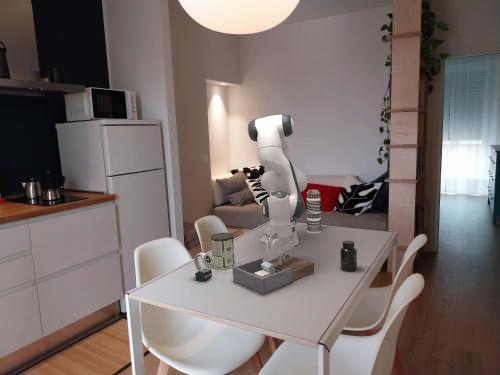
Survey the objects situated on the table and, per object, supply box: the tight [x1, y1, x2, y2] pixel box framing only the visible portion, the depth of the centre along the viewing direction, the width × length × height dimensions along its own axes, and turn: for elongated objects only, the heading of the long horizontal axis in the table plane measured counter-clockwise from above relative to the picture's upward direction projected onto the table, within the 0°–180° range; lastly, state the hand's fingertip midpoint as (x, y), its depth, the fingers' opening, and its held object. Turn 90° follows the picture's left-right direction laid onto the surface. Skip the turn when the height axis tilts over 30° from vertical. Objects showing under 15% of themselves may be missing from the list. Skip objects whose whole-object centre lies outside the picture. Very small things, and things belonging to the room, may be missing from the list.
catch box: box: [232, 257, 294, 296], centre depth 147 cm, size 18×16×6 cm
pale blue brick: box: [261, 261, 276, 275], centre depth 150 cm, size 5×5×2 cm
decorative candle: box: [305, 189, 322, 234], centre depth 216 cm, size 9×9×25 cm
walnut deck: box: [266, 254, 315, 282], centre depth 156 cm, size 16×14×4 cm
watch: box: [193, 252, 213, 283], centre depth 152 cm, size 6×8×11 cm
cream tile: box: [254, 270, 271, 278], centre depth 147 cm, size 5×5×2 cm
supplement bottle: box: [339, 240, 358, 273], centre depth 156 cm, size 7×7×12 cm
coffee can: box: [210, 232, 236, 270], centre depth 167 cm, size 10×10×14 cm
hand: (281, 263), depth 153 cm, fingers closed
